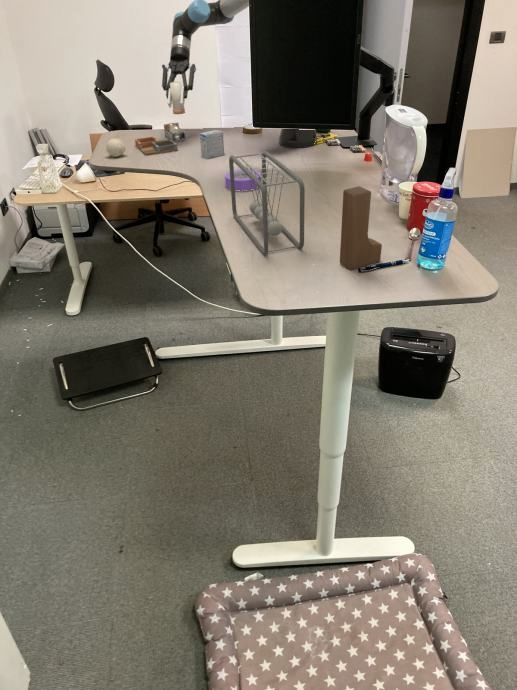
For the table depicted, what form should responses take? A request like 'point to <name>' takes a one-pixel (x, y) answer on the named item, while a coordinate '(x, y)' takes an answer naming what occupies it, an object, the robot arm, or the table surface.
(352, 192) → the wooden block
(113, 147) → the baseball
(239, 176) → the masking tape
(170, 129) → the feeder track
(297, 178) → the newton's cradle
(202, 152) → the medicine box
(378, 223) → the table surface
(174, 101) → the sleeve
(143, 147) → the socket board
